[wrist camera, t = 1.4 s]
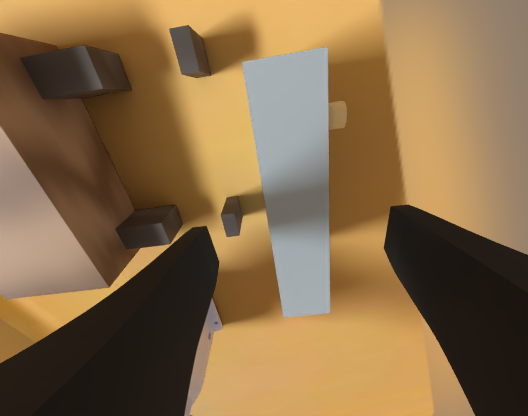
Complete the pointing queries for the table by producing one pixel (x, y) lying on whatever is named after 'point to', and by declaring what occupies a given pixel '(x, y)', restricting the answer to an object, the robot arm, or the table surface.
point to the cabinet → (72, 171)
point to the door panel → (296, 170)
